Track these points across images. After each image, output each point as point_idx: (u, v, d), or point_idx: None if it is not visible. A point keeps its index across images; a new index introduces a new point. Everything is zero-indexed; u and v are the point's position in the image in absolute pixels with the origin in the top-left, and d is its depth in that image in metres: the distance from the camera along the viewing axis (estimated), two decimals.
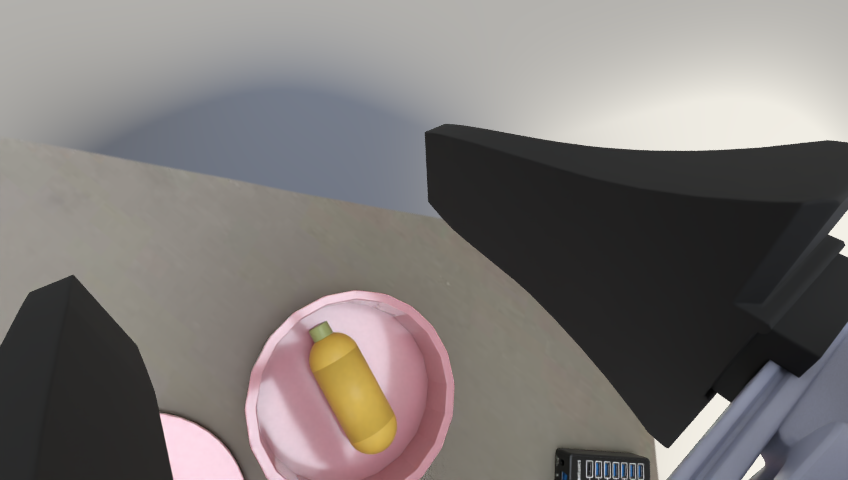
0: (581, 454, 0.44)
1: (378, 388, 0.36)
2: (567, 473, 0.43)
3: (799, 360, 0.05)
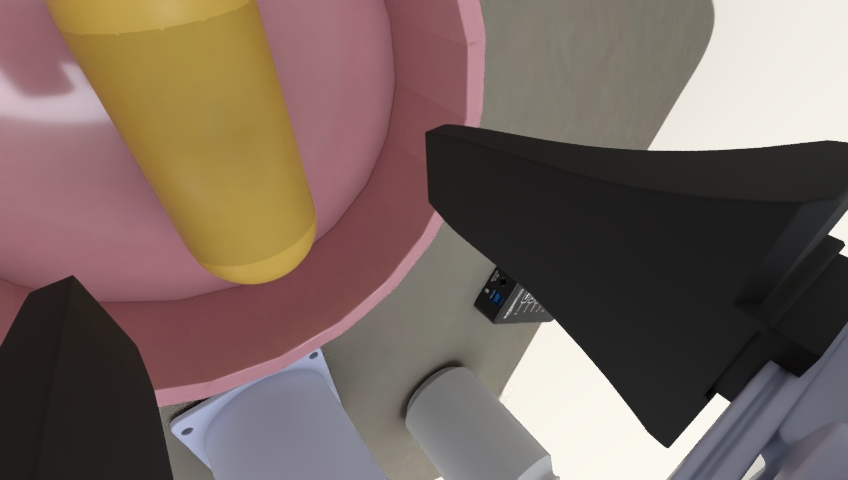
0: None
1: (295, 149, 0.13)
2: (504, 297, 0.32)
3: (799, 360, 0.05)
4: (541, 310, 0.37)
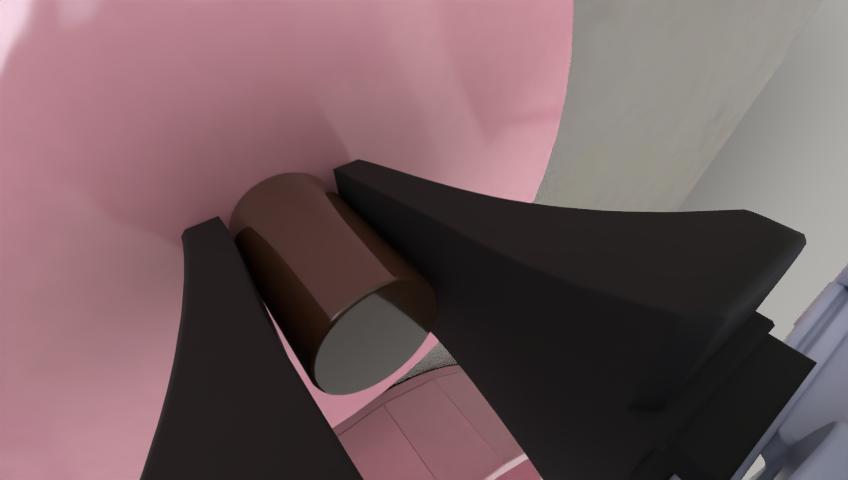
0: None
1: None
2: None
3: None
4: None
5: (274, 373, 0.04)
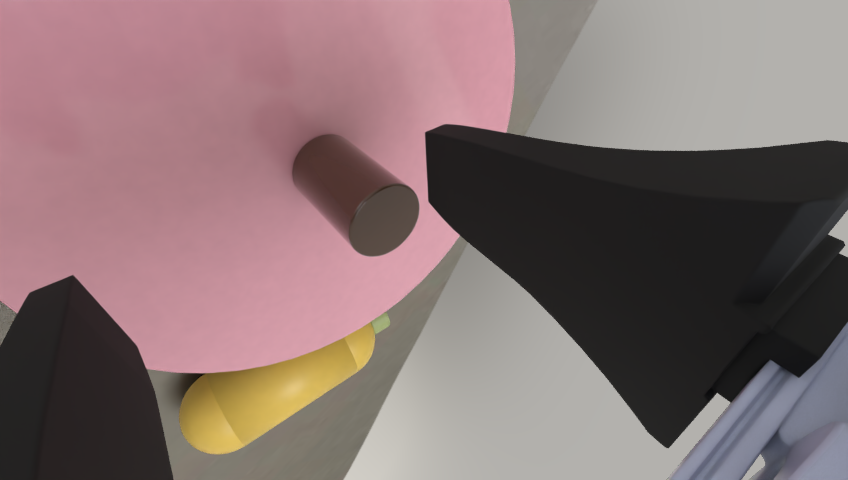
0: None
1: None
2: None
3: (799, 360, 0.05)
4: None
5: None
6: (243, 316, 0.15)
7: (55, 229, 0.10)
